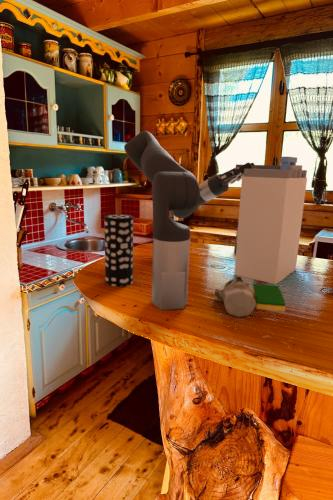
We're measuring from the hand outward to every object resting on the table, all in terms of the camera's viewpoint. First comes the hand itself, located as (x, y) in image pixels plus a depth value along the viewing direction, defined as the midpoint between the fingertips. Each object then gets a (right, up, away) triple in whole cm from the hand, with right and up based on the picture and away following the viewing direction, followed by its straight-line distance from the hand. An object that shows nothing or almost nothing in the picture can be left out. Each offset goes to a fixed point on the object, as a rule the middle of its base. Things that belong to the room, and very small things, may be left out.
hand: (252, 165), depth 118 cm
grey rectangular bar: (+4, -4, -2) cm, 6 cm away
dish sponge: (-2, -44, -26) cm, 51 cm away
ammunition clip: (+4, -31, +24) cm, 40 cm away
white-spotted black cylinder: (-44, -39, -15) cm, 61 cm away
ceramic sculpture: (-12, -45, -32) cm, 56 cm away
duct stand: (+4, -37, -1) cm, 37 cm away
